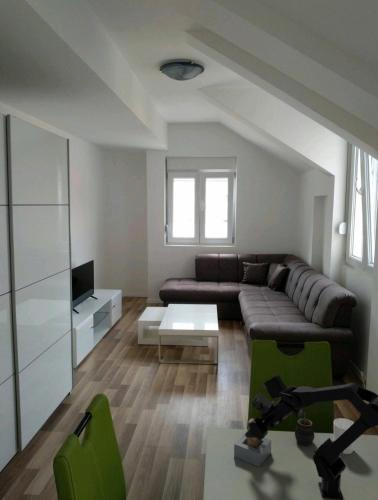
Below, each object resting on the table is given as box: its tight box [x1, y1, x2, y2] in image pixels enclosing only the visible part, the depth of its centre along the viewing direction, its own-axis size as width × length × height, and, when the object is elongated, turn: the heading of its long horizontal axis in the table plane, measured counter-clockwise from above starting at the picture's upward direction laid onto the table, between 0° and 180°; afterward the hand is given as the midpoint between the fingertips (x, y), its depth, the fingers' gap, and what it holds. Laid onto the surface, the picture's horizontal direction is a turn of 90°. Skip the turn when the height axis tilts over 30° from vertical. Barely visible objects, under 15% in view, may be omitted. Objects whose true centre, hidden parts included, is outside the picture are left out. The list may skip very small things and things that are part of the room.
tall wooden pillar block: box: [247, 418, 258, 449], centre depth 145 cm, size 3×3×12 cm
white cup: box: [333, 417, 356, 455], centre depth 149 cm, size 8×8×10 cm
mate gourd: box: [294, 411, 315, 446], centre depth 153 cm, size 7×8×10 cm
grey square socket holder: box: [233, 432, 272, 468], centre depth 145 cm, size 10×10×5 cm
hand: (251, 429), depth 145 cm, fingers open, 9 cm apart
